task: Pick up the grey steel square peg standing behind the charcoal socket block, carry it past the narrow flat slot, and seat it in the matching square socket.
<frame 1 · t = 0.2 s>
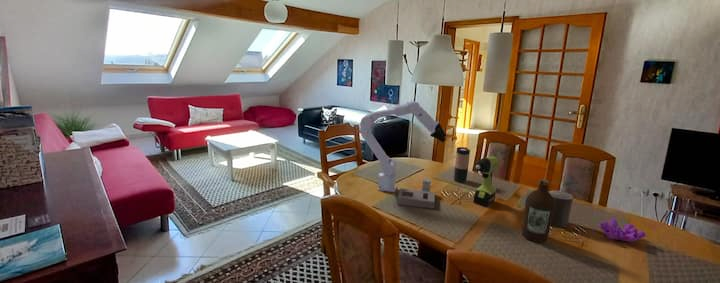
hand: (444, 138, 164), 31 cm above the table, fingers open, 7 cm apart
square peg: (425, 193, 173), on the table
socket block: (416, 201, 163), on the table
cordless drill: (480, 204, 161), on the table
purple coral: (619, 239, 133), on the table
olive oil: (533, 237, 133), on the table
pillar candle: (554, 222, 145), on the table
travel mug: (459, 180, 192), on the table
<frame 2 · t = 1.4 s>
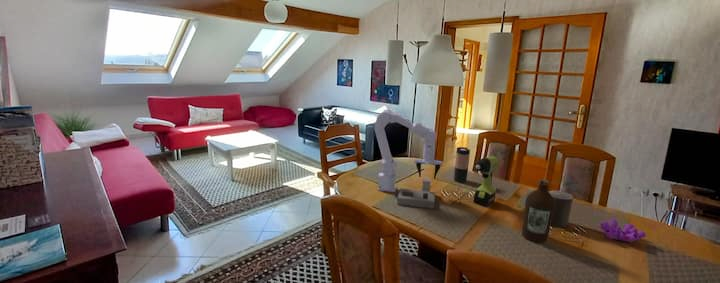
hand: (427, 177, 170), 10 cm above the table, fingers open, 7 cm apart
nothing on the table moved.
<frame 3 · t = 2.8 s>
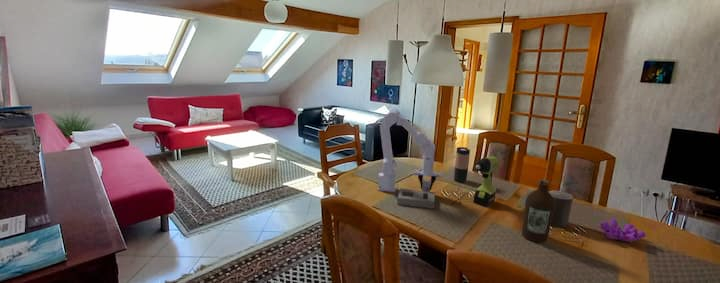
hand: (426, 188, 172), 3 cm above the table, fingers closed on square peg, 4 cm apart
square peg: (425, 193, 173), on the table, touching gripper
everything else where it was.
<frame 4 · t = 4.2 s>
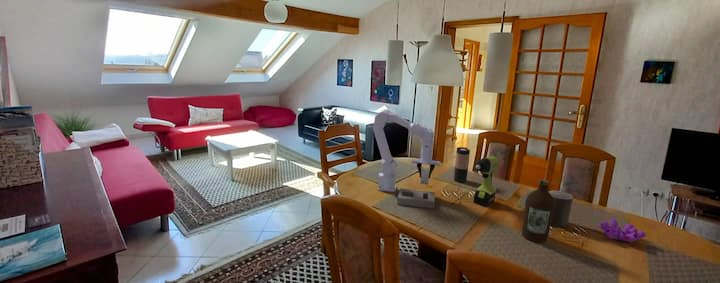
hand: (424, 177, 169), 10 cm above the table, fingers closed on square peg, 4 cm apart
square peg: (424, 182, 170), point 7 cm above the table, touching gripper
everything else where it was.
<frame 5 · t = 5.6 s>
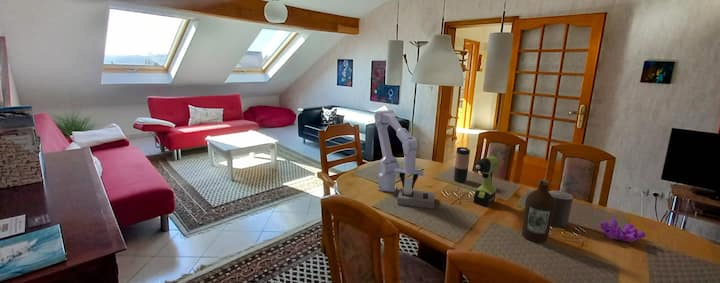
hand: (408, 187, 162), 7 cm above the table, fingers closed on square peg, 4 cm apart
square peg: (407, 193, 164), point 4 cm above the table, touching gripper
everything else where it was.
when the fingers open (5 cm above the table, at t = 6.5 s): square peg drops 2 cm, resting in socket block.
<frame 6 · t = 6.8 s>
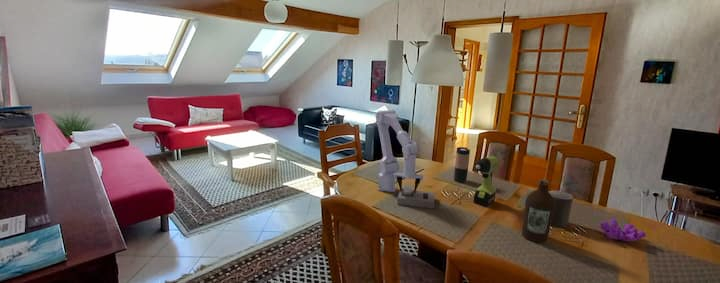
hand: (407, 191, 163), 5 cm above the table, fingers open, 6 cm apart
square peg: (407, 200, 165), resting in socket block
everything else where it was.
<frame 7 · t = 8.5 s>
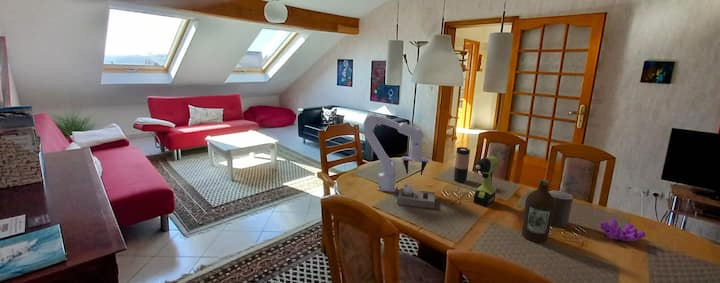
hand: (414, 174, 174), 10 cm above the table, fingers open, 7 cm apart
nothing on the table moved.
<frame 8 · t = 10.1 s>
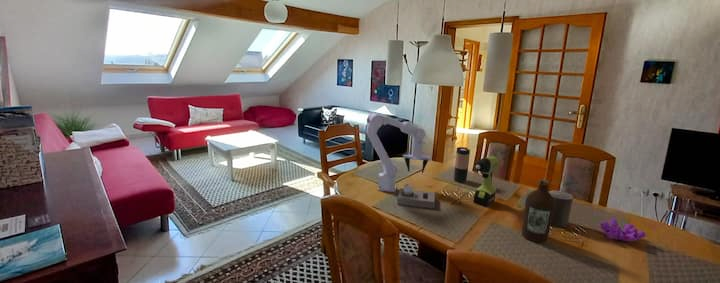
hand: (415, 171, 178), 9 cm above the table, fingers open, 7 cm apart
nothing on the table moved.
at the end: square peg 0.3 cm from the target spot on the socket block, point 0.0 cm above the socket block's base; square peg tilted 0°; the gripper is holding nothing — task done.
